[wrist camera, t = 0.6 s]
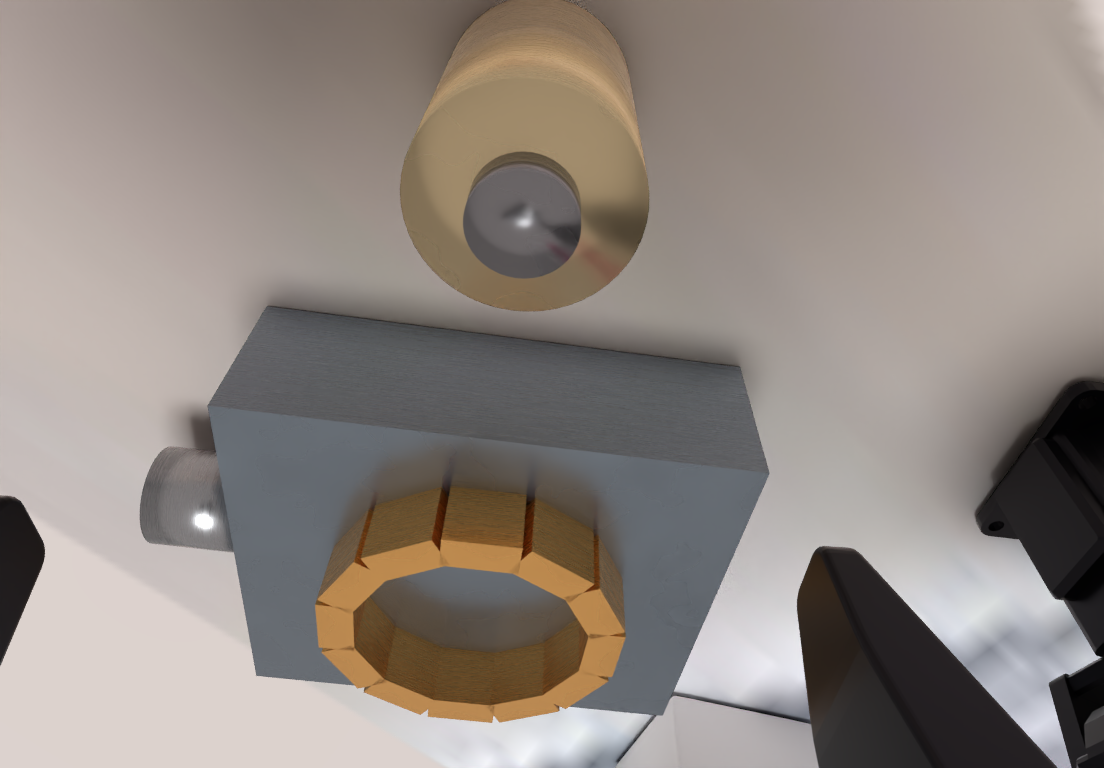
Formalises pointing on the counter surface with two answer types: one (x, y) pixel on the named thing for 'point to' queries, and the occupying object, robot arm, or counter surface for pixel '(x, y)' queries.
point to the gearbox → (467, 512)
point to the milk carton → (720, 739)
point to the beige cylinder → (529, 161)
